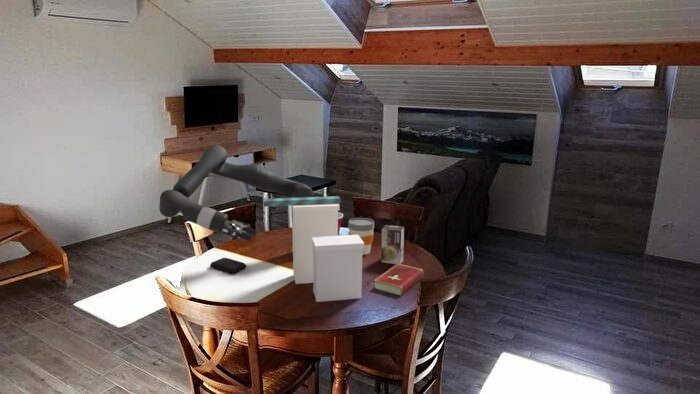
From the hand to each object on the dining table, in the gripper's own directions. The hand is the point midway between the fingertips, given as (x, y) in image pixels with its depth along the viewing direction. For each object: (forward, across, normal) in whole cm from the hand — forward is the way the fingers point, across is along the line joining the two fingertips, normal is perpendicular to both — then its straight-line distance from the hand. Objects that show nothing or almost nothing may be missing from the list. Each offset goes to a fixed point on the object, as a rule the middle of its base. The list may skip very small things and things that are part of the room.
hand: (253, 235), depth 174 cm
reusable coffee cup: (+45, +48, +2) cm, 66 cm away
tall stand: (+28, +17, +12) cm, 35 cm away
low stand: (+37, +2, +10) cm, 39 cm away
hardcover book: (+60, +13, +1) cm, 62 cm away
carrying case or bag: (-8, +26, +26) cm, 37 cm away
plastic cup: (+32, +70, +5) cm, 77 cm away
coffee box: (+59, +36, -2) cm, 69 cm away
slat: (+12, +13, -16) cm, 23 cm away
